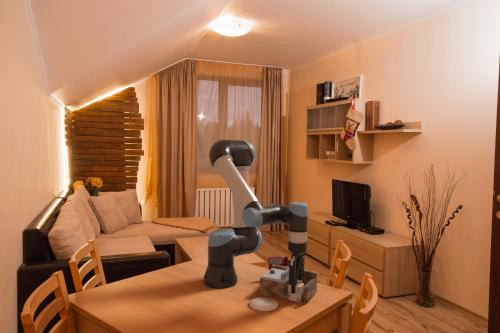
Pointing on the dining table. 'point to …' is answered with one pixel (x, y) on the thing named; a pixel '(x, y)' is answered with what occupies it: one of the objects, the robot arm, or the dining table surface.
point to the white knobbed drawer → (276, 275)
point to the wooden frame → (282, 288)
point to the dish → (263, 304)
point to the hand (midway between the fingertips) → (296, 298)
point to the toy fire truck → (278, 261)
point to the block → (299, 294)
